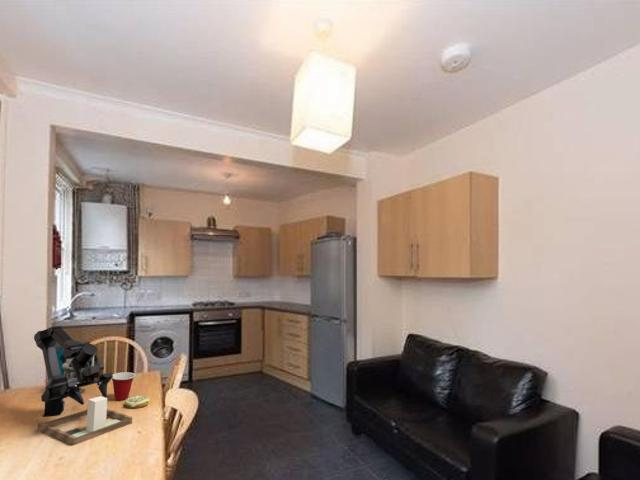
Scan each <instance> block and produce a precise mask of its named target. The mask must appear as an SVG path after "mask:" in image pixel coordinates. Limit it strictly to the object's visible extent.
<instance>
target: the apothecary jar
mask: <svg viewBox="0 0 640 480" xmlns="http://www.w3.org/2000/svg"><path fill="white" fill-rule="evenodd" d="M73 359H74V358H70V359H66V361H64V363H63V364H62V365H61V369H62V370H63V371H64V374H63V377H67V379H68V382H70V381H74V380H76V381H77V378H75V379H74V376H75V373H74V371H73V368H72V367H69V364H70V363H71V361H72V360H73ZM88 364H89V365H90V362H88ZM77 383H78V381H77ZM79 391H80V393H81V394H83V393H85V391H86V389H85V388H83V387H79Z"/></svg>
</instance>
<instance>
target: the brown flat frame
mask: <svg viewBox="0 0 640 480" xmlns="http://www.w3.org/2000/svg"><path fill="white" fill-rule="evenodd" d="M85 416H86V417H87V409H84V410H82V411H79V412H75V413H74V412H73V413H71V414H69V415H65V416H62V417H59V418H55V419H52V420H49V421H46V422H39V423H37V430H38V431H40V432H42V433H44V434H47V435H48V436H50V437H51V436H52V437H53V438H55V439H58V440H60V441H63V442H64V443H66V444H69V445H71V446H75V445H78V444H81V443H83V442H87V441H88V440H91V439H94V438H96V437H99V436H103V435H104V434H107V433H111V431H115V430H117V429H120V428H123V427H126V426H128V425H131V424H133V416H131V415H127V414H125V413H121V412H119V411H115V410H113V409H110V408H107V414H106V420H108V419H109V418H111V419H113V420H115V419H118V420H120V422H117V423H114V424H112V425H109V426H106V427H104V428H101V429H98V430H95V431H93V432H90V433H87V434H84V435H82V436H79V437H75V436H73V434H75V433H78V432H81V431H83V430H82V429H80V428H73V429H71V430H70V429H69V430H67V431H64V430H60V429H58V428H56V427H54V426H57V425H61V424H63V423H66V422H70V421H72V420H76V419H79V418H81V417H85Z"/></svg>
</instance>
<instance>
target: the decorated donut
mask: <svg viewBox="0 0 640 480" xmlns="http://www.w3.org/2000/svg"><path fill="white" fill-rule="evenodd" d="M148 404H150V396H149V395H144V394H136V395H133V396H130V397H129V396H128V398H127V399H126V400H124V405H125V406H126V408H129V409H140V408H145V407H146V406H148Z"/></svg>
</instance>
